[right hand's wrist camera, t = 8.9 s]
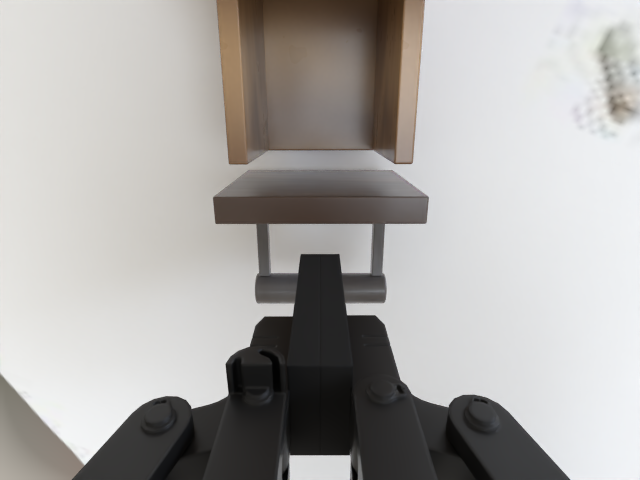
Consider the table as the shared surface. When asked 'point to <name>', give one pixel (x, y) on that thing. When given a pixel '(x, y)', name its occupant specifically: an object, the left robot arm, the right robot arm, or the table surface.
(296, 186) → the drawer
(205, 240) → the table surface
